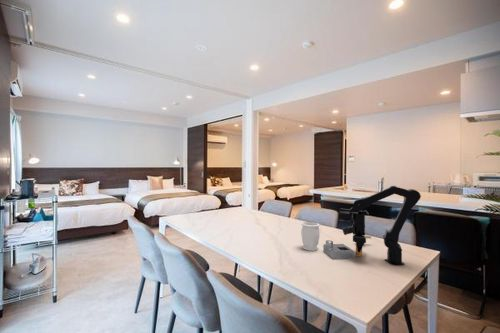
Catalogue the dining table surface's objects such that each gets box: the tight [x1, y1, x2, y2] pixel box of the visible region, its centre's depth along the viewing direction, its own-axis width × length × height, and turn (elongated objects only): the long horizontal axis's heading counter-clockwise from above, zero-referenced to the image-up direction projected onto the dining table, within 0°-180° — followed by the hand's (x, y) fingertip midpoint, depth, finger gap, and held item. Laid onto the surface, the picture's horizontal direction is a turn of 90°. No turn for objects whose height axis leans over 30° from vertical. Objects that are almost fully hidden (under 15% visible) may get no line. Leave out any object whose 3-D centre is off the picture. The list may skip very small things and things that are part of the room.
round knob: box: [355, 244, 363, 257], centre depth 131 cm, size 4×4×8 cm
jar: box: [301, 221, 321, 252], centre depth 143 cm, size 11×10×15 cm
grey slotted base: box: [323, 239, 355, 260], centre depth 133 cm, size 12×12×6 cm
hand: (358, 250), depth 131 cm, fingers closed on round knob, 3 cm apart
